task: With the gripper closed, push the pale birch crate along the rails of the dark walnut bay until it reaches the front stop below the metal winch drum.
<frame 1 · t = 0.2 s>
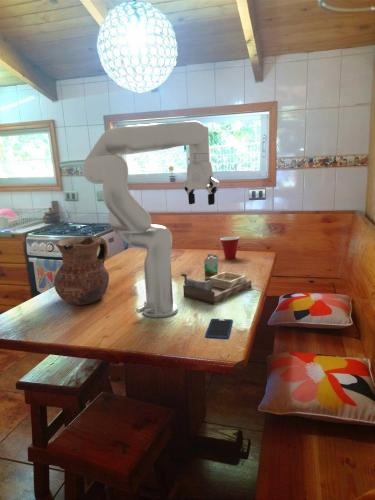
hand: (201, 204, 140), 36 cm above the table, tool pointing down, fingers open, 9 cm apart
food container: (213, 277, 169), on the table
crate: (227, 280, 152), point 3 cm above the table, slide at 12.0 cm
cell phone: (219, 330, 114), on the table
plastic cup: (229, 258, 204), on the table
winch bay: (218, 291, 148), on the table
jug: (84, 299, 147), on the table
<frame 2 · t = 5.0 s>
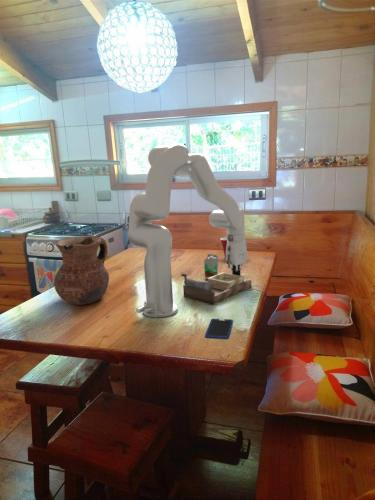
hand: (236, 278, 157), 2 cm above the table, tool pointing down, fingers closed
crate: (225, 281, 151), point 3 cm above the table, slide at 10.6 cm, touching gripper
everything else where it was.
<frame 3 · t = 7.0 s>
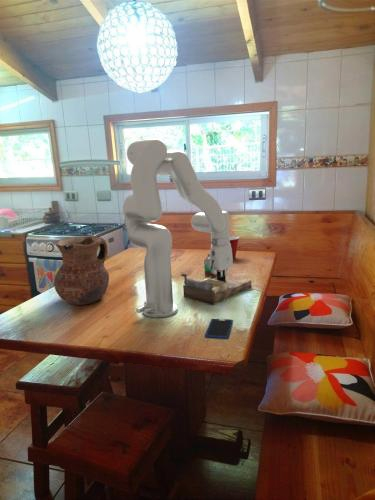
hand: (221, 284, 149), 3 cm above the table, tool pointing down, fingers closed
crate: (209, 287, 143), point 3 cm above the table, slide at 0.0 cm, touching gripper
everything else where it was.
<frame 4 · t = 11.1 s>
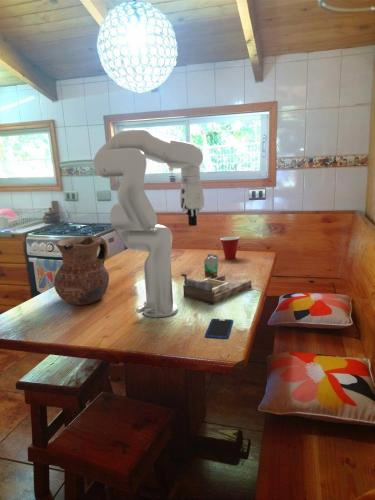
hand: (192, 225, 150), 27 cm above the table, tool pointing down, fingers closed
crate: (209, 287, 143), point 3 cm above the table, slide at 0.0 cm
everything else where it was.
at the end: crate slide at 0.0 cm; crate inside the target area (0.0 cm from its centre), resting on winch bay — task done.
